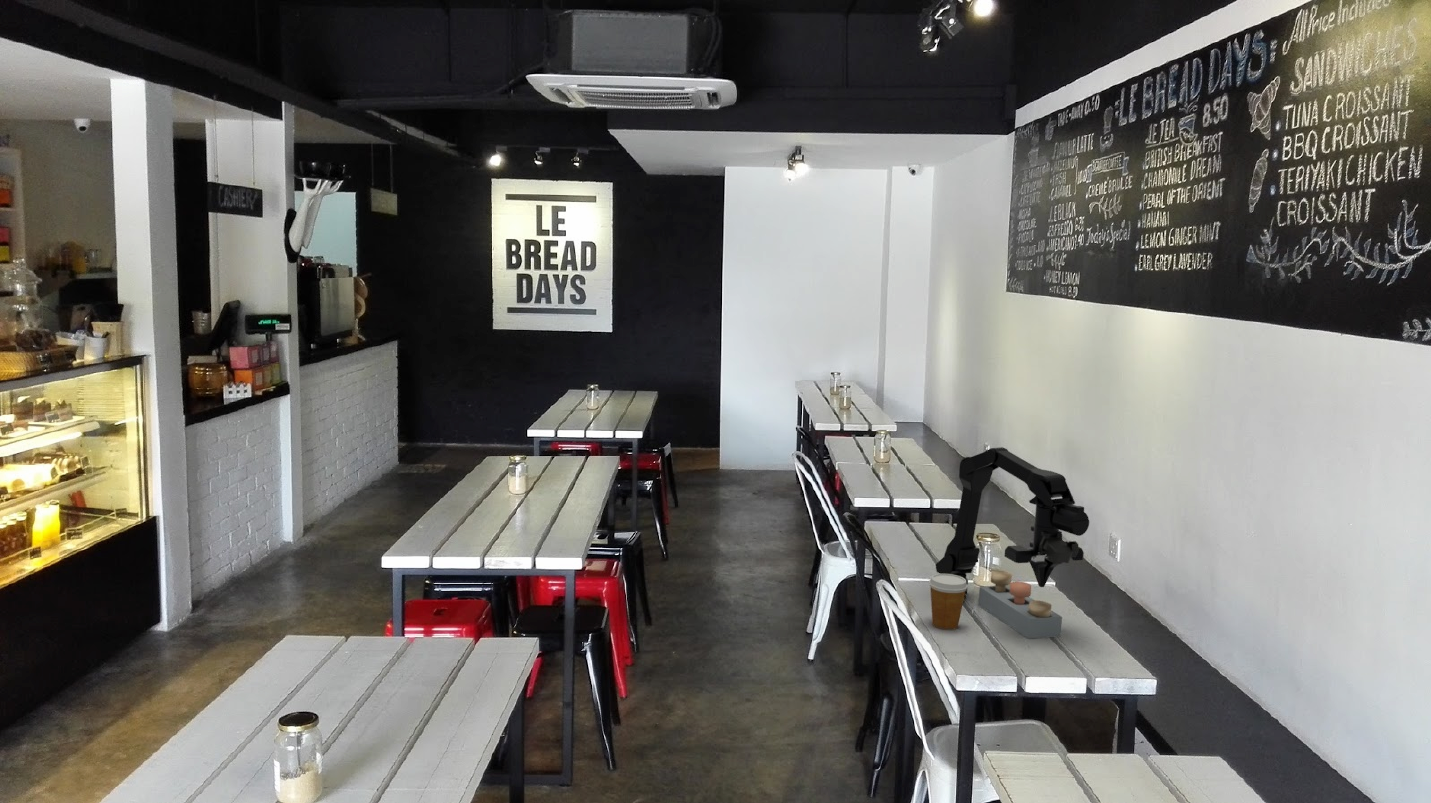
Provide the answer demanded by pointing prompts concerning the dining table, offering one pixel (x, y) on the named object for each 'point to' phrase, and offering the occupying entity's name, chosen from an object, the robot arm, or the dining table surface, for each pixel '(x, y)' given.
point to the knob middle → (1020, 591)
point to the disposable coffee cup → (947, 599)
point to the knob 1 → (1000, 580)
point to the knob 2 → (1040, 608)
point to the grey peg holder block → (1018, 614)
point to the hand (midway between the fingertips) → (1041, 586)
